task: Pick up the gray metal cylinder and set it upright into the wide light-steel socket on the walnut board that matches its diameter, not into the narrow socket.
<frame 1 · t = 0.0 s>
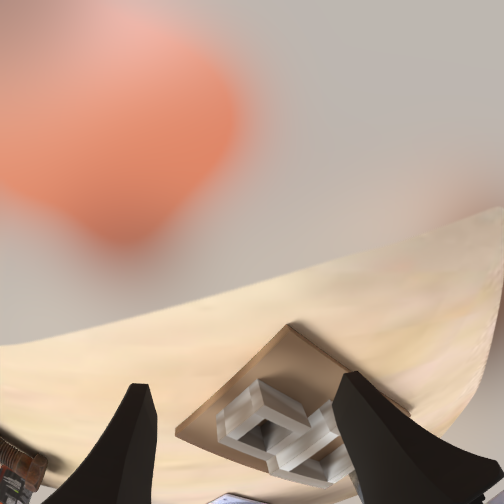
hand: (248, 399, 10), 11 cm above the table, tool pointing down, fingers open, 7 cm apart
supplement bottle: (18, 474, 24), on the table
gray metal cylinder: (363, 463, 29), on the table
fitting board: (307, 427, 25), on the table
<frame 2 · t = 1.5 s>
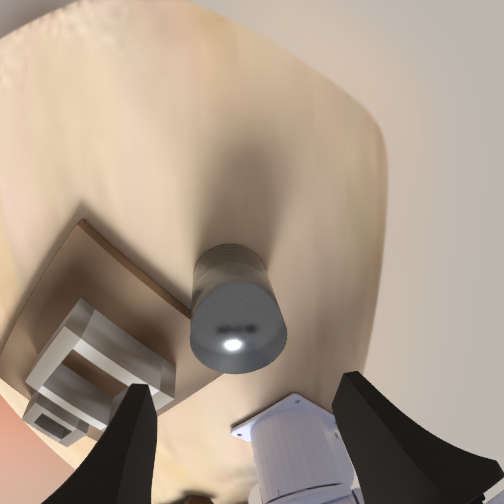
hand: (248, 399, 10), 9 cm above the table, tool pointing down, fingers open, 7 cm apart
gray metal cylinder: (229, 276, 19), on the table
fitting board: (92, 365, 20), on the table
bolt: (178, 503, 36), on the table
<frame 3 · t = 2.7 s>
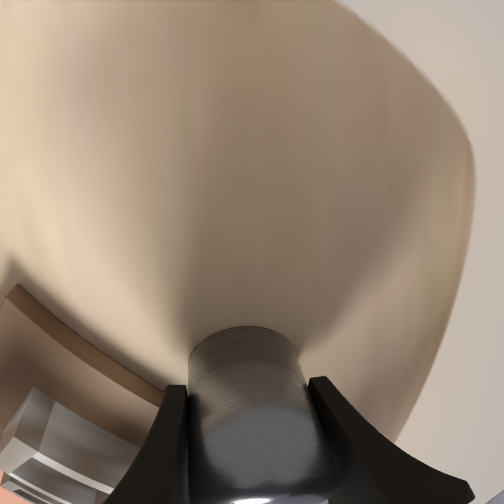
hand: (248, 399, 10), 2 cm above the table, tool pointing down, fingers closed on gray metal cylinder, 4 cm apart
gray metal cylinder: (242, 367, 12), on the table, touching gripper
fitting board: (68, 443, 13), on the table
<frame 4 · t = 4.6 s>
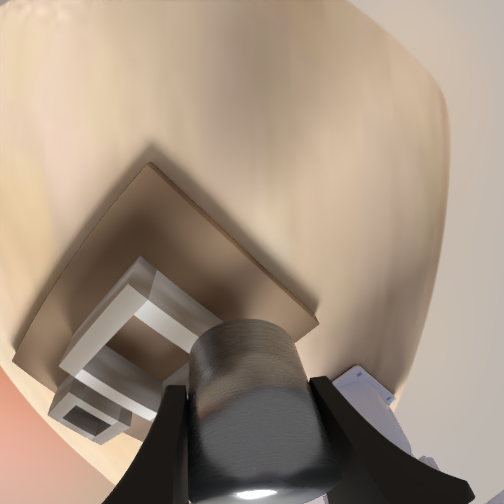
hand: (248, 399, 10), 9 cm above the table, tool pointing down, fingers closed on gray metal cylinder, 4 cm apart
gray metal cylinder: (243, 360, 12), point 7 cm above the table, touching gripper
fitting board: (138, 344, 19), on the table
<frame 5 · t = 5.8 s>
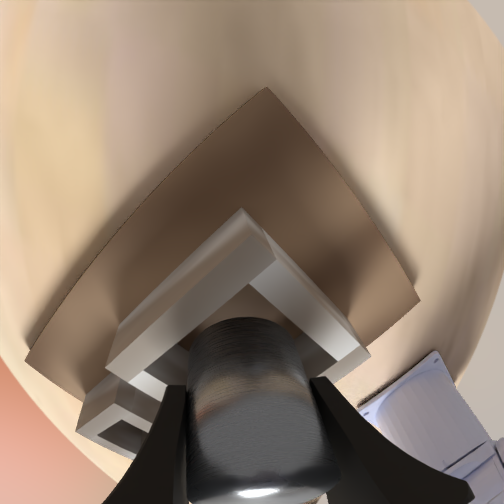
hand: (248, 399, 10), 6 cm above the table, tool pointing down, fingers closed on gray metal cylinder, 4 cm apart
gray metal cylinder: (242, 359, 12), point 4 cm above the table, touching gripper
fitting board: (207, 335, 16), on the table
when the fingers open (4 cm above the table, at t = 6.5 s): gray metal cylinder drops 1 cm, resting on fitting board.
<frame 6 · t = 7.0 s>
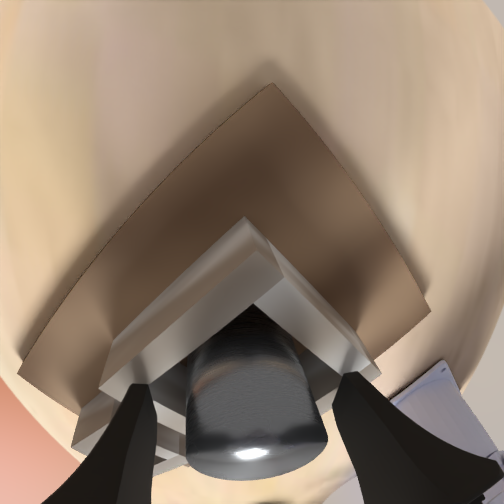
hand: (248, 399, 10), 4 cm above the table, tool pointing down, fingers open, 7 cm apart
gray metal cylinder: (238, 337, 13), point 1 cm above the table, touching fitting board
fitting board: (207, 350, 15), on the table
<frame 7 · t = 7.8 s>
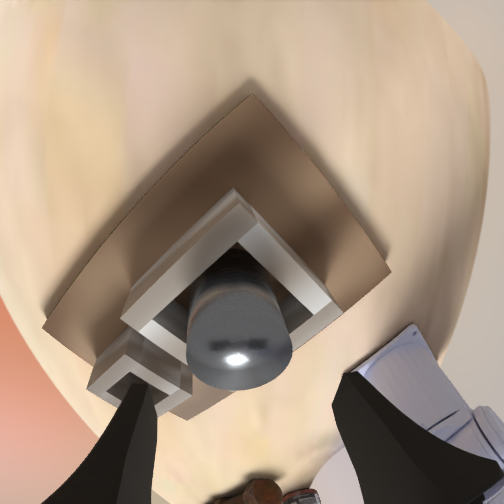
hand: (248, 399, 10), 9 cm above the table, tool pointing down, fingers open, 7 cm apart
supplement bottle: (299, 492, 37), on the table
gray metal cylinder: (229, 283, 17), point 1 cm above the table, touching fitting board
fitting board: (205, 298, 19), on the table
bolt: (234, 492, 35), on the table
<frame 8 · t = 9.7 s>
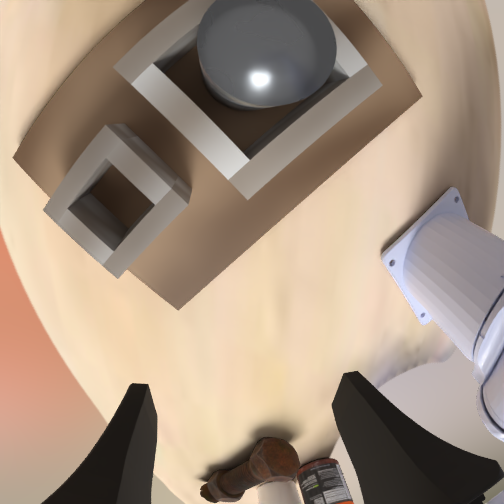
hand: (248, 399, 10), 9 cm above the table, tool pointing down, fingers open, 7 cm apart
supplement bottle: (316, 465, 33), on the table
gray metal cylinder: (246, 69, 13), point 1 cm above the table, touching fitting board
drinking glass: (275, 485, 35), on the table
fitting board: (215, 101, 14), on the table
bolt: (237, 462, 30), on the table
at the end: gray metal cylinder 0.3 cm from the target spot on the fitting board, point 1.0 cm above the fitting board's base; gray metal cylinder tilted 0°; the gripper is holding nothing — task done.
